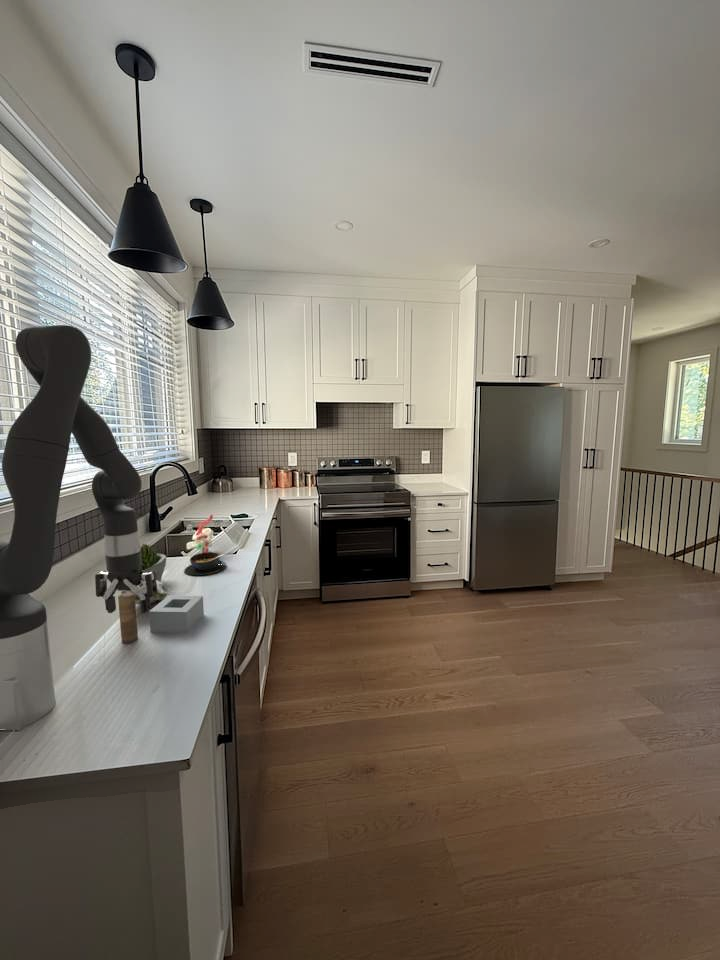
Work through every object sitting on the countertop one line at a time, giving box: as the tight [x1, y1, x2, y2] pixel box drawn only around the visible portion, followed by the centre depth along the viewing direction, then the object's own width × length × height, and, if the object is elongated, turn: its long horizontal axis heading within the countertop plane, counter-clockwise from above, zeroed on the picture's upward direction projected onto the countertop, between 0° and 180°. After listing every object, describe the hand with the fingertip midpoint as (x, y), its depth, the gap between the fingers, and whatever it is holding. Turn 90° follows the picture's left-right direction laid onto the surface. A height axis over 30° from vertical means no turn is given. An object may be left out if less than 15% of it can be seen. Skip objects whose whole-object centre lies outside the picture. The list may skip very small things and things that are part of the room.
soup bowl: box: [183, 551, 227, 576], centre depth 150 cm, size 15×16×7 cm
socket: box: [148, 595, 205, 634], centre depth 108 cm, size 10×10×6 cm
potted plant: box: [141, 543, 167, 582], centre depth 134 cm, size 12×13×15 cm
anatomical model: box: [185, 514, 214, 553], centre depth 164 cm, size 15×11×18 cm
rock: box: [120, 580, 168, 607], centre depth 119 cm, size 19×11×10 cm, turn 16°
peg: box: [117, 593, 139, 645], centre depth 99 cm, size 4×4×12 cm
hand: (128, 611), depth 99 cm, fingers open, 8 cm apart
